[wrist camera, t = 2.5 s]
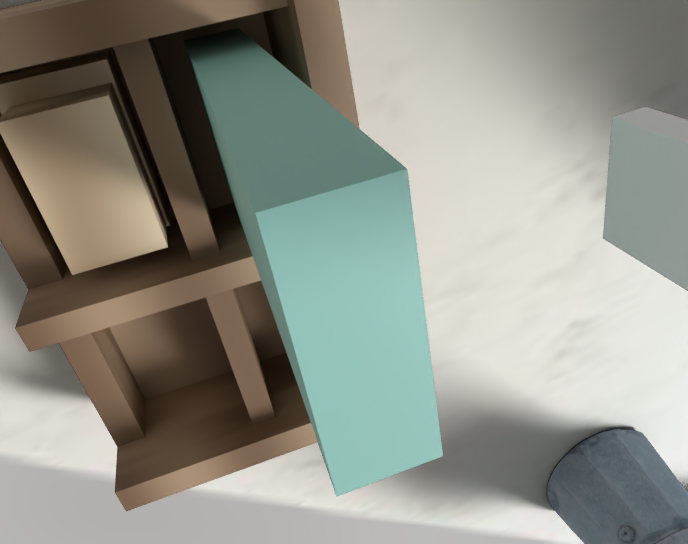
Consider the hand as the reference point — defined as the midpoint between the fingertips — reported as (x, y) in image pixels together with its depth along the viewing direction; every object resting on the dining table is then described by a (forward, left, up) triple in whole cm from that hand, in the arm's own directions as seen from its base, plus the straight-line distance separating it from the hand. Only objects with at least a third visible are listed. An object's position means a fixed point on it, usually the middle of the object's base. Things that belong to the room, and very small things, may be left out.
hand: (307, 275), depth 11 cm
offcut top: (+5, 0, -11) cm, 12 cm away
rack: (+3, +4, -15) cm, 16 cm away
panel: (0, 0, -13) cm, 13 cm away
